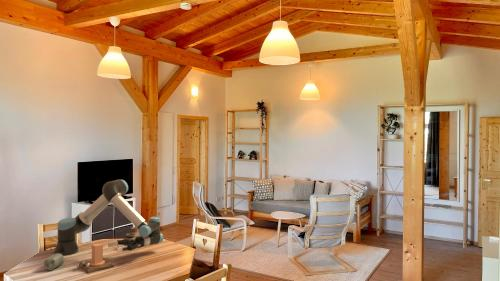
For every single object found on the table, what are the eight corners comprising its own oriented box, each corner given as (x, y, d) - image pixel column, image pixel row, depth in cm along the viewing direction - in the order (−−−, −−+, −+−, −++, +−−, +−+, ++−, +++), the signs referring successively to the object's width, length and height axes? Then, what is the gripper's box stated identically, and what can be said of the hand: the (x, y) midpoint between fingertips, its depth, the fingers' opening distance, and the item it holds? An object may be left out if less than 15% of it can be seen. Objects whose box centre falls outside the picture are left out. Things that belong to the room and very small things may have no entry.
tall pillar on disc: (87, 263, 232) (87, 244, 232) (101, 260, 238) (101, 241, 238) (92, 267, 225) (93, 247, 225) (107, 264, 232) (107, 245, 232)
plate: (78, 266, 231) (78, 264, 231) (103, 260, 243) (103, 258, 243) (88, 273, 220) (88, 271, 220) (113, 267, 231) (113, 264, 231)
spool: (55, 267, 220) (51, 251, 223) (41, 273, 221) (38, 257, 224) (70, 265, 233) (66, 250, 236) (57, 271, 234) (53, 256, 237)
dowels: (81, 265, 229) (81, 260, 229) (85, 264, 230) (85, 260, 230) (86, 269, 223) (86, 264, 223) (90, 268, 225) (90, 263, 225)
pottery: (142, 240, 290) (142, 226, 290) (136, 250, 265) (136, 234, 265) (128, 241, 288) (128, 226, 288) (120, 251, 264) (120, 234, 263)
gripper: (151, 251, 245) (121, 258, 230) (133, 242, 263) (104, 248, 248) (151, 240, 245) (121, 246, 230) (133, 232, 263) (104, 237, 248)
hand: (112, 247), depth 239 cm, fingers open, 13 cm apart
